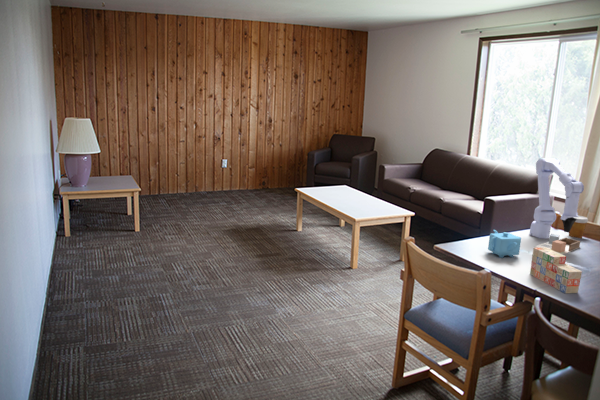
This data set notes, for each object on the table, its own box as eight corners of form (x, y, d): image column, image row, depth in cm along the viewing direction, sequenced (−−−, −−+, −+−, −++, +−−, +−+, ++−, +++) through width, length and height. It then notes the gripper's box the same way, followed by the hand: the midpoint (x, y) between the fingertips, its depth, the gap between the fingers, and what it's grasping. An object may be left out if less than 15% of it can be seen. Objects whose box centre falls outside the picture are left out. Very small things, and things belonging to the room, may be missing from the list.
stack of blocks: (578, 293, 190) (583, 264, 187) (565, 294, 189) (570, 264, 186) (541, 273, 210) (545, 246, 207) (529, 273, 209) (533, 247, 206)
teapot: (499, 261, 223) (502, 238, 220) (477, 249, 240) (480, 227, 237) (528, 260, 226) (532, 237, 223) (505, 247, 243) (508, 226, 241)
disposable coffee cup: (583, 237, 267) (587, 216, 264) (585, 241, 258) (589, 220, 256) (564, 234, 271) (568, 214, 268) (565, 238, 262) (569, 217, 259)
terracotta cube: (551, 250, 238) (552, 241, 237) (555, 248, 241) (557, 240, 240) (560, 252, 235) (561, 244, 234) (564, 251, 237) (566, 242, 236)
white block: (548, 242, 250) (549, 235, 249) (550, 241, 253) (551, 233, 252) (557, 244, 248) (558, 237, 247) (558, 242, 251) (559, 235, 250)
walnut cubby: (554, 247, 243) (555, 241, 243) (564, 243, 250) (565, 237, 249) (569, 251, 238) (570, 244, 237) (579, 247, 244) (580, 241, 244)
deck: (533, 248, 243) (533, 246, 243) (551, 242, 255) (552, 240, 255) (562, 256, 232) (562, 254, 232) (579, 249, 244) (580, 247, 244)
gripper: (573, 209, 230) (568, 236, 233) (586, 205, 238) (581, 231, 242) (558, 206, 235) (553, 232, 238) (571, 202, 244) (566, 228, 247)
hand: (566, 231), depth 240 cm, fingers closed
